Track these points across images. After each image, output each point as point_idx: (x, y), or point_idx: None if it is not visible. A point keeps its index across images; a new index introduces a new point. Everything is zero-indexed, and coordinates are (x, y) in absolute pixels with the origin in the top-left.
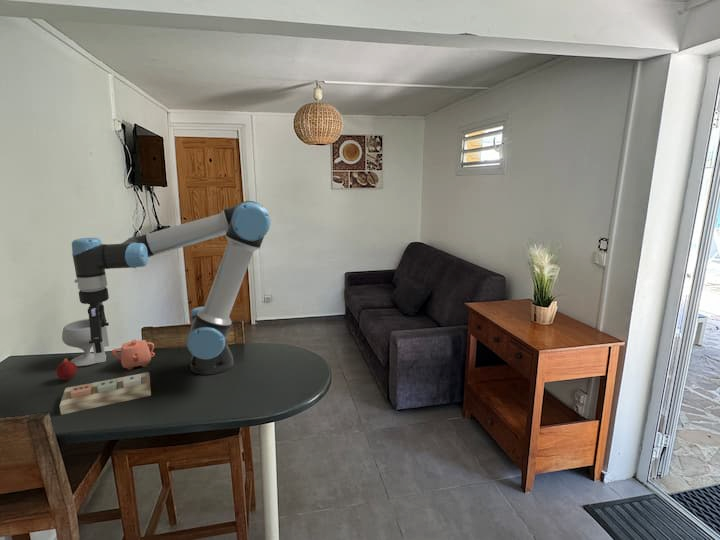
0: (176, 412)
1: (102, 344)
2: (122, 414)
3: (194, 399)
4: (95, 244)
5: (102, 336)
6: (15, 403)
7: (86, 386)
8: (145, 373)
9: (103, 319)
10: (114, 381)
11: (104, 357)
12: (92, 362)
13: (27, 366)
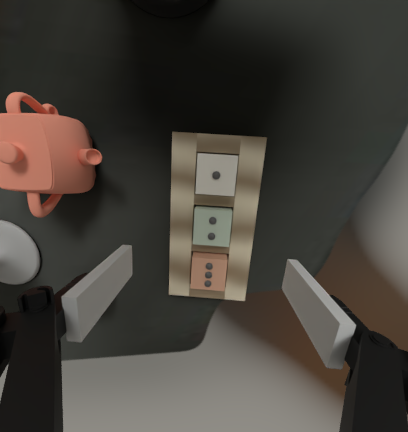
0: (380, 94)
1: (340, 313)
2: (309, 199)
3: (349, 40)
4: None
5: (109, 286)
6: (158, 344)
7: (207, 266)
8: (177, 141)
9: (54, 377)
10: (211, 213)
11: (303, 270)
12: (29, 246)
13: None
